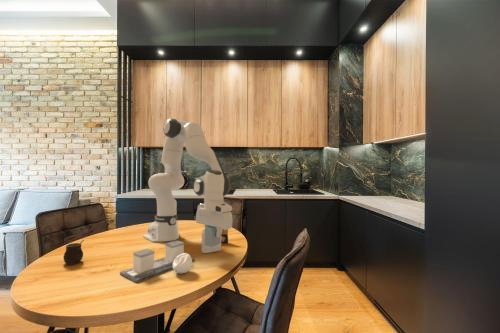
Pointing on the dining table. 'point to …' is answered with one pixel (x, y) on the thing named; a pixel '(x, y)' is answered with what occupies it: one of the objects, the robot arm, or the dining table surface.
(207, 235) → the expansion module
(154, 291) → the dining table surface
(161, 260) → the rail panel
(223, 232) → the ammunition clip
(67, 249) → the mate gourd
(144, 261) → the plate
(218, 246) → the photo printer
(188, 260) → the white lumpy ball
